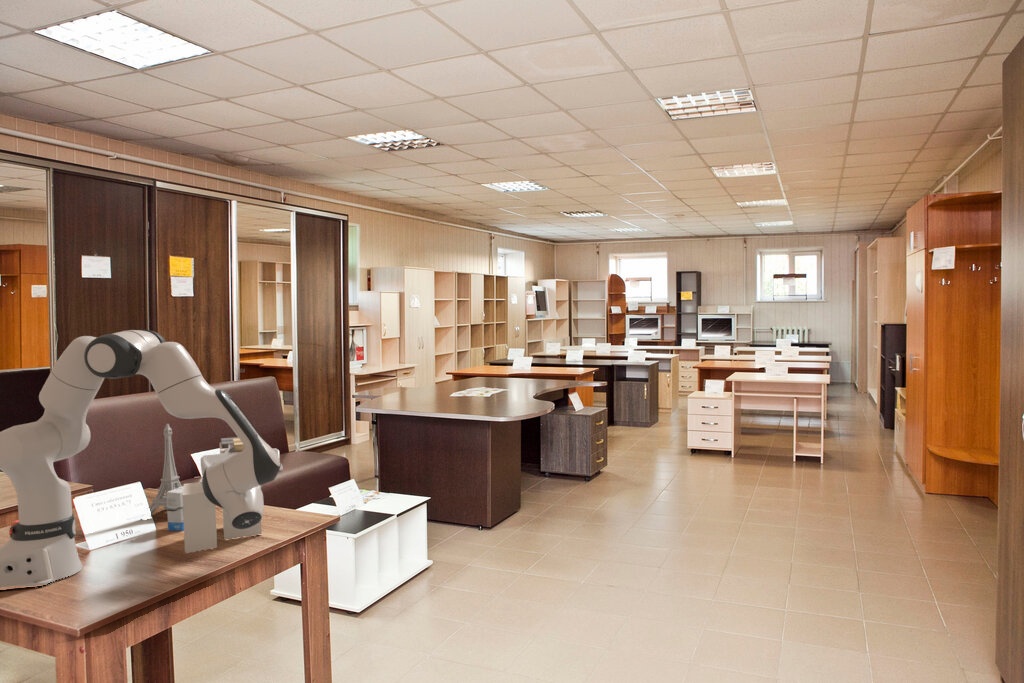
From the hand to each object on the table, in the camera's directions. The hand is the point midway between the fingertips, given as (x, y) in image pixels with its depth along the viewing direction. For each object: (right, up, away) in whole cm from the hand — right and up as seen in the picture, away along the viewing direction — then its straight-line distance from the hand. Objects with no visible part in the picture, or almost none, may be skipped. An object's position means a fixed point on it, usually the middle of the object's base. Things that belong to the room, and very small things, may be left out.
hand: (239, 445), depth 191 cm
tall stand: (-4, -27, +11) cm, 30 cm away
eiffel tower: (-35, -28, +31) cm, 55 cm away
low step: (-11, -28, +1) cm, 30 cm away
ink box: (-24, -28, +18) cm, 41 cm away
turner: (-3, -2, +7) cm, 8 cm away
